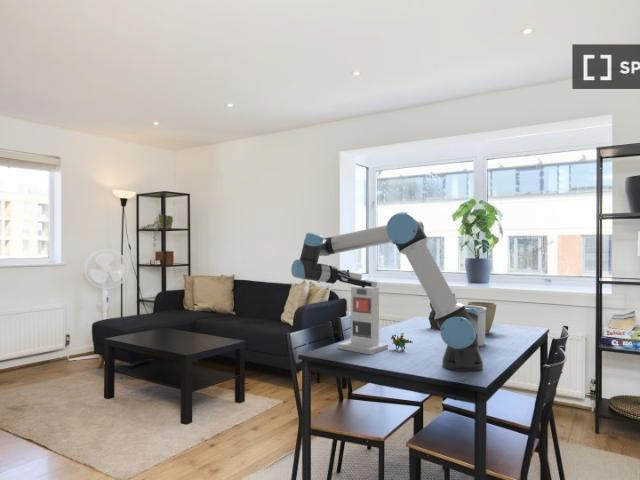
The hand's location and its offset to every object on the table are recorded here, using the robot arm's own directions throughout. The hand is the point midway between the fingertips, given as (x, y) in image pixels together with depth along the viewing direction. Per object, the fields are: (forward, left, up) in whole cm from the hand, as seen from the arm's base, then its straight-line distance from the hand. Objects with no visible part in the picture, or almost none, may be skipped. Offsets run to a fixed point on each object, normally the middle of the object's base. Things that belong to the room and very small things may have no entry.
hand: (368, 280), depth 201 cm
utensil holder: (+26, -48, -32) cm, 63 cm away
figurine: (+4, -15, -32) cm, 35 cm away
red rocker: (+5, +3, -14) cm, 15 cm away
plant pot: (+56, -59, -32) cm, 87 cm away
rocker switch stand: (+4, +3, -31) cm, 32 cm away
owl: (+64, -39, -32) cm, 81 cm away
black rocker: (+5, +3, -25) cm, 25 cm away
